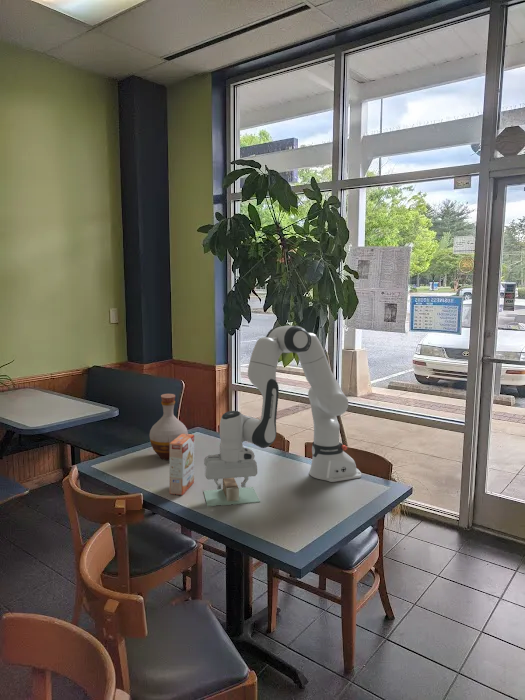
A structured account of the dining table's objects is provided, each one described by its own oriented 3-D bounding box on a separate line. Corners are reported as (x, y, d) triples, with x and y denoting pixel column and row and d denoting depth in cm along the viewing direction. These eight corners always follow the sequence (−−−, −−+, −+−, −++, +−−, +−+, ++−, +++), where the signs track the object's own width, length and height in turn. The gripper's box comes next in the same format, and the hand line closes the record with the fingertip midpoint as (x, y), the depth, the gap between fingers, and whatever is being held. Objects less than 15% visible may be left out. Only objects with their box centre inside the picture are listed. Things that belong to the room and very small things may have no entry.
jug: (147, 451, 256) (146, 391, 252) (184, 448, 262) (183, 389, 258) (151, 465, 238) (150, 400, 234) (191, 461, 243) (190, 398, 239)
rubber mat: (252, 488, 213) (252, 487, 213) (260, 502, 199) (260, 501, 199) (203, 491, 209) (203, 490, 209) (207, 506, 195) (207, 505, 195)
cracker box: (183, 496, 204) (183, 444, 202) (169, 494, 206) (168, 443, 203) (195, 482, 218) (194, 433, 215) (181, 481, 219) (180, 432, 216)
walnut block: (233, 477, 211) (239, 489, 199) (233, 488, 211) (239, 500, 200) (222, 478, 210) (227, 490, 198) (222, 489, 210) (227, 501, 199)
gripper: (205, 458, 196) (205, 493, 198) (258, 454, 201) (258, 489, 203) (203, 452, 203) (203, 486, 204) (255, 449, 207) (255, 483, 209)
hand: (231, 488), depth 203 cm, fingers open, 8 cm apart
